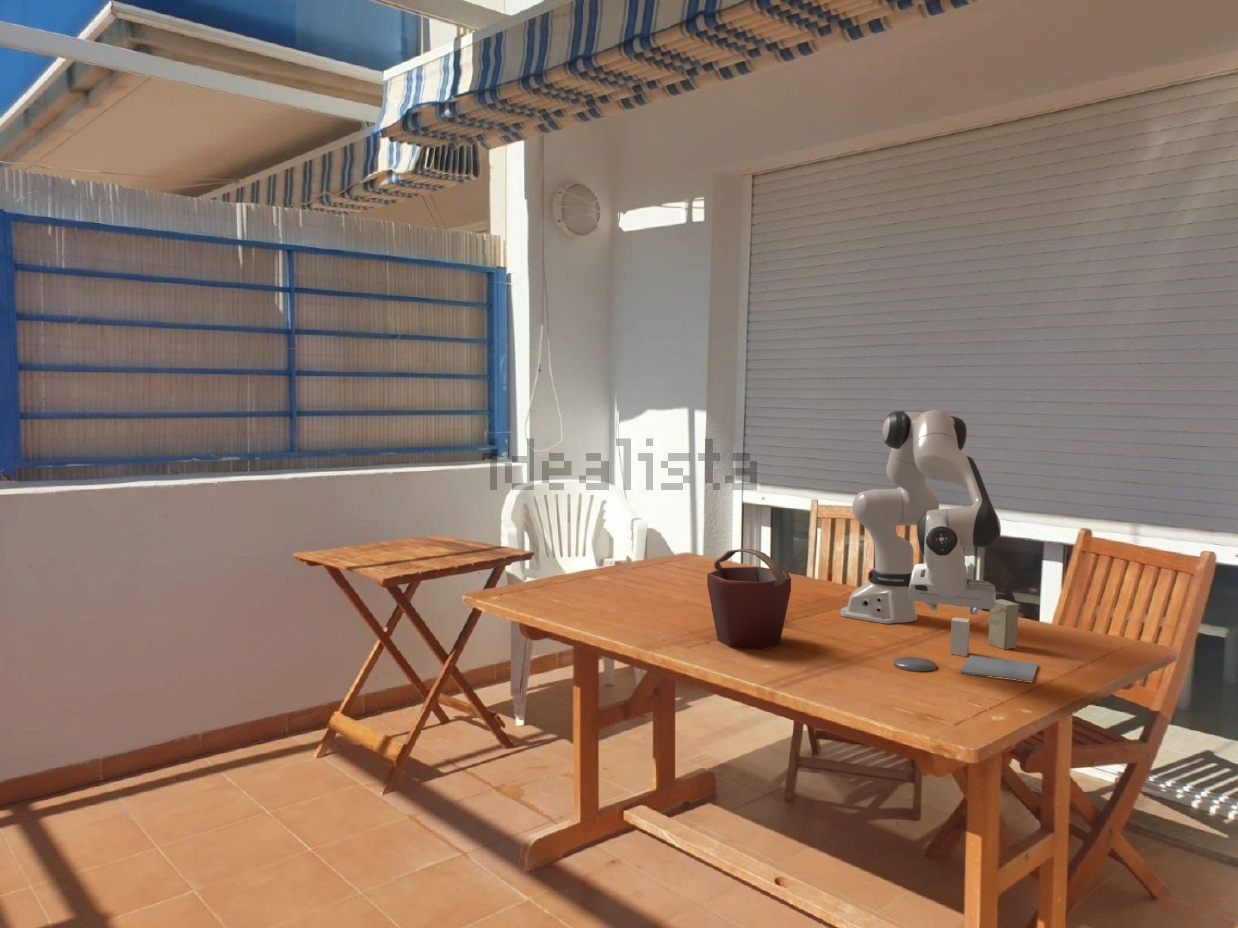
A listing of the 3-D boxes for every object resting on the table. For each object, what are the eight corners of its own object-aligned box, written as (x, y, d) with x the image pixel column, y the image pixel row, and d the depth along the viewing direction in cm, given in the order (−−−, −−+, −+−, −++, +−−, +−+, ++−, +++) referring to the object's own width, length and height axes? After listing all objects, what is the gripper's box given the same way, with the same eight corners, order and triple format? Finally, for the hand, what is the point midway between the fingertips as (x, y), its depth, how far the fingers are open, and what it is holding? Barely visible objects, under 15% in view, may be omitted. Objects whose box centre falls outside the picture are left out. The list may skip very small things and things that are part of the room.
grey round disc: (889, 667, 231) (889, 664, 231) (898, 657, 240) (898, 654, 240) (931, 674, 226) (931, 670, 226) (939, 663, 235) (939, 660, 235)
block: (950, 654, 243) (951, 620, 242) (952, 650, 247) (953, 617, 246) (966, 656, 241) (967, 622, 240) (968, 652, 245) (969, 618, 244)
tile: (960, 673, 227) (960, 670, 227) (970, 656, 241) (970, 654, 241) (1032, 683, 219) (1032, 680, 219) (1038, 665, 233) (1038, 663, 233)
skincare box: (987, 644, 253) (989, 599, 252) (1000, 642, 255) (1002, 598, 254) (1004, 650, 247) (1006, 604, 246) (1017, 648, 249) (1019, 603, 248)
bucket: (695, 633, 263) (695, 545, 261) (764, 626, 271) (765, 541, 269) (735, 656, 240) (737, 560, 238) (810, 648, 248) (811, 555, 246)
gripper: (996, 571, 221) (999, 604, 231) (907, 563, 231) (914, 595, 240) (993, 594, 218) (996, 625, 227) (903, 584, 228) (910, 615, 237)
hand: (953, 609), depth 234 cm, fingers open, 8 cm apart
